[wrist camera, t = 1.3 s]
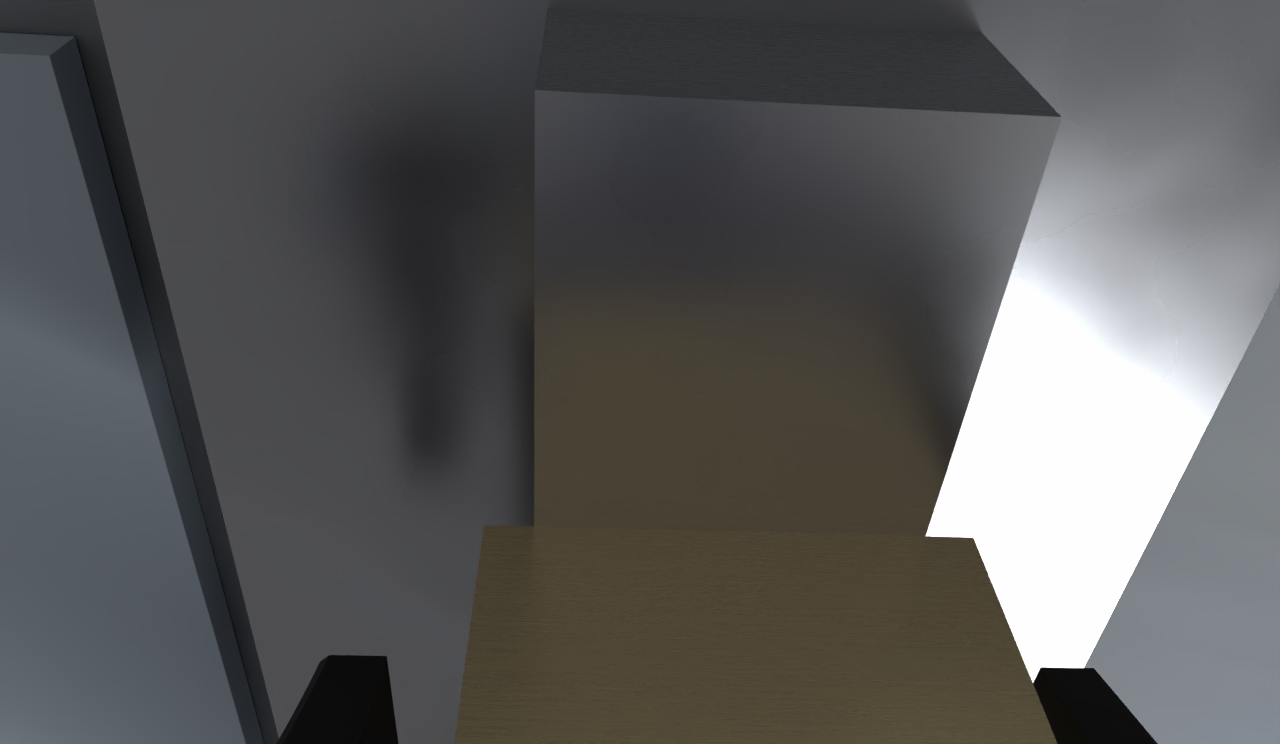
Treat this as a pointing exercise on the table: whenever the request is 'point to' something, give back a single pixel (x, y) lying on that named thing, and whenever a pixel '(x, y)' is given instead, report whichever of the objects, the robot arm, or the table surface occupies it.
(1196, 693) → the table surface
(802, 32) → the vise
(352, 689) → the robot arm
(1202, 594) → the table surface
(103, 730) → the mat
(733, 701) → the collar
